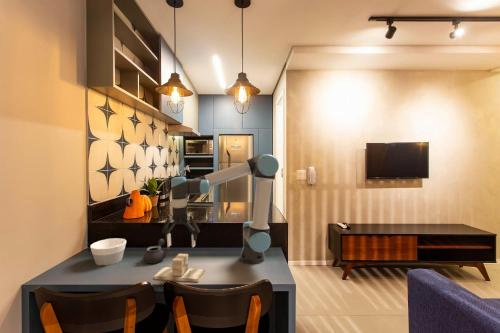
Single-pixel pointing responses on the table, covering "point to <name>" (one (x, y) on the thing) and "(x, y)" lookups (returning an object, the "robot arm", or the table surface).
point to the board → (190, 275)
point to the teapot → (155, 253)
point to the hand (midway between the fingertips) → (181, 246)
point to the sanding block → (180, 265)
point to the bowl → (108, 251)
